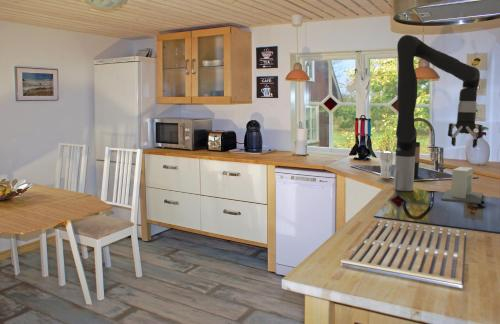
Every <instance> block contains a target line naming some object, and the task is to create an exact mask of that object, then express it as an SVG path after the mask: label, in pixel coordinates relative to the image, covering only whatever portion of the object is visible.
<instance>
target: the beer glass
mask: <svg viewBox="0 0 500 324" xmlns="http://www.w3.org/2000/svg"><path fill="white" fill-rule="evenodd" d="M393 156H394V155H393V151H386V150H384V151H380V156H379V165H380V174H379V178H380V179H386V180H387V179H388V180H389V179H391V178H392V174H391V171H392V166H393V159H394V157H393Z"/></svg>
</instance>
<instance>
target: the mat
mask: <svg viewBox="0 0 500 324" xmlns="http://www.w3.org/2000/svg"><path fill="white" fill-rule="evenodd" d="M482 200H483V193H482V192H473V191H472V194H471V195H468V194H466V198H458V197H451V189H446V190H445V192H444V193H443V195H442V196H441V201H447V202H456V201H457V203H458V202H459V203H469V204H478V205H482Z"/></svg>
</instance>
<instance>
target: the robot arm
mask: <svg viewBox="0 0 500 324" xmlns="http://www.w3.org/2000/svg"><path fill="white" fill-rule="evenodd" d="M396 47H397V48H396V49H397V51H396V52H397V60H398V67H397V68H398V69H397V88H396V89H397V91H396V93H397V114H398V115H397V124H396V129H395V130H396V131H395V135H396V147H395V158H394V159H395V162H394V169H393V181H392V182H393V184H392V185H393V186H392V187H393V188H392V189H393V190H394V191H401V192H411V191H414V185H415V184H414V182H415V181H414V180H415V177H414V166H415V151H416V142H417V139H418V137H417V136H418V132H417V127H416V126H415V111H416V105H417V100H418V77H417V74H416V70H415V62H414V61H415V57H416V58H419V59H422V60H424V61H426V62H428V63H430V64H431V65H433V66H434V67H436V68H437V69H438V70H439V69H440V70H441V71H443V72H446V73H447V74H450V75H452V76H453V77H455V78H457V79H458V80H460V81H462V86H461V89H460V91H459V95H458V96H459V99H458V105H457V113H456V114H457V117H456V123H451V122H450V123H449V124H448V131H447V136H448V137H450V138H451V141H450V142H451V145H452V146H453V147H456V143H457V138H456V137H457V136H458V135H459V134H466V135H469V134H470V135H471V137H472V138H473V139H472V148H473V149H474V148H476V147H477V146H478V140H479V139H482V138H483V124H476V114H477V96H478V88H479V84H480V78H481V72H480V70H479V69H478V68H477V67H476V66H472V65H468V63H464V62H462V61H460V60H459V59H457V58H455V57H454V56H451V55H449V54H446V53H444V52H443V51H440V50H437V49H436V48H434V47H431V46H429V45H428V44H427V43H425V42H423V41H422V40H421V39H419V37H417V36H414V35H410V34H405V35H403V36H401V37H400V38H399V40H398V41H397V46H396ZM455 128H456V130H455V131H454V133H453V130H454V129H455ZM475 129H477V131H478V132H477V134H476V132H475V131H474V130H475Z"/></svg>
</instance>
